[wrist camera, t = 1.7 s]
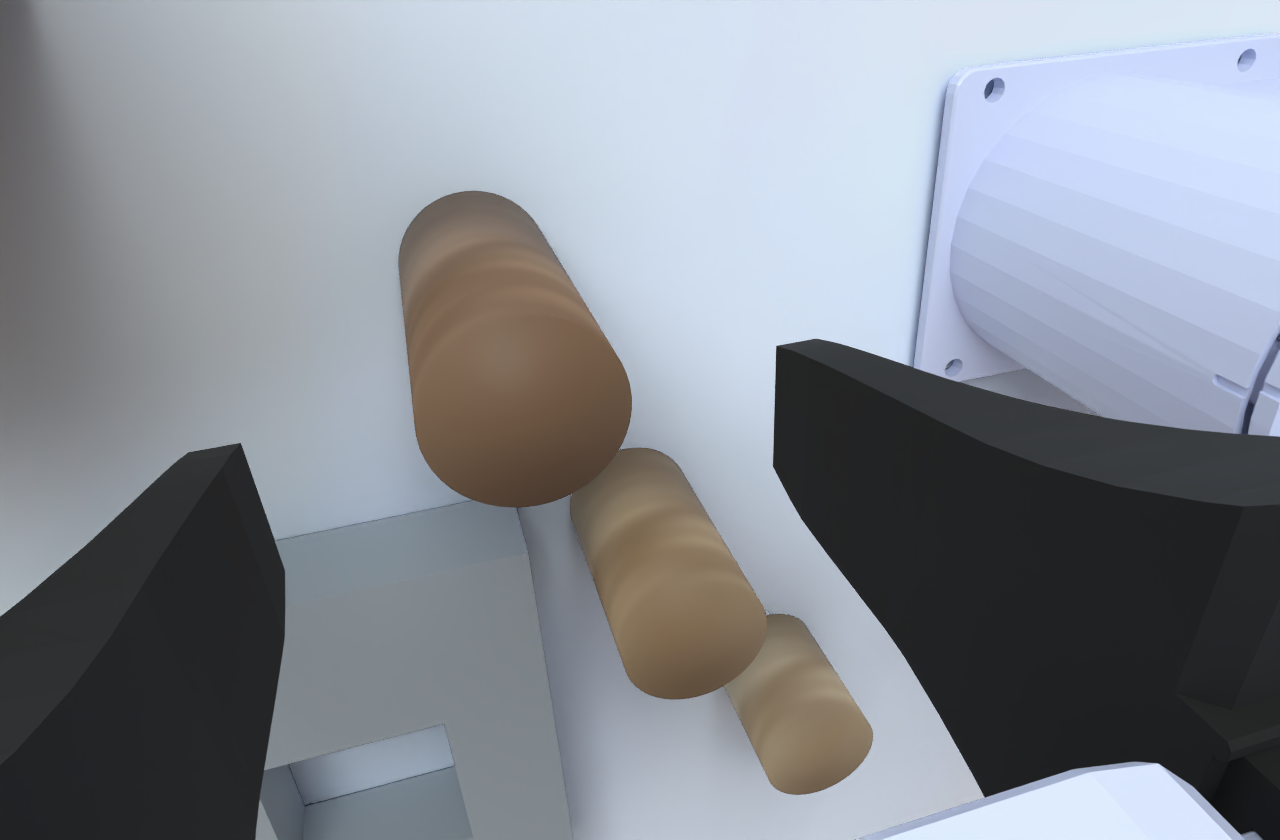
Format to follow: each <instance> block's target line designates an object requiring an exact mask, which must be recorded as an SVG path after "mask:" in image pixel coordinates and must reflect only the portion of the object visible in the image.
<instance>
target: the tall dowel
mask: <svg viewBox="0 0 1280 840" xmlns="http://www.w3.org/2000/svg"><path fill="white" fill-rule="evenodd" d="M399 275H400V285H401V295H402V305H403V315H404V325H405V334H406V344H407V354H408V364H409V374H410V384H411V394H412V404H413V413H414V423H415V431H416V437H417V441H418V444H419V447H420V450H421V452H422V454H423V456H424V458H425V460H426V462H427V463H428V465H429V466H430V468H431V469H432V471H433V472H434V473H435V474H436V475H437V476H438V477H439V478H440V480H441V481H443V482H444V483H445V484H446V485H448V486H449V487H450V488H451V489H453V490H455V491H456V492H458V493H459V494H461V495H463V496H465V497H467V498H470V499H472V500H474V501H477V502H481V503H484V504H487V505H493V506H498V507H511V508H515V507H530V506H536V505H541V504H545V503H549V502H553V501H555V500H558V499H561V498H563V497H566V496H568V495H570V494H572V493H573V492H575V491H577V490H579V489H580V488H582V487H583V486H585V485H587V484H588V483H589V482H591V481H592V480H593V479H594V478H595V477H597V476H598V475H599V474H600V473H601V472H602V471H603V470H604V469H605V468H606V467H607V466H608V464H609V463H610V462H611V460H612V459H613V458H614V456H615V455H616V453H617V452H618V450H619V448H620V447H621V445H622V443H623V440H624V438H625V436H626V433H627V430H628V426H629V423H630V417H631V410H632V396H631V389H630V384H629V381H628V377H627V374H626V372H625V369H624V367H623V365H622V363H621V361H620V360H619V358H618V356H617V355H616V353H615V351H614V350H613V348H612V347H611V345H610V343H609V342H608V340H607V338H606V337H605V335H604V334H603V332H602V330H601V329H600V327H599V325H598V324H597V322H596V320H595V319H594V317H593V316H592V314H591V312H590V311H589V309H588V307H587V306H586V304H585V302H584V301H583V299H582V298H581V296H580V294H579V293H578V291H577V289H576V288H575V286H574V284H573V283H572V281H571V280H570V278H569V276H568V275H567V273H566V271H565V270H564V268H563V266H562V265H561V263H560V262H559V260H558V258H557V257H556V255H555V253H554V252H553V250H552V248H551V247H550V245H549V244H548V242H547V240H546V239H545V237H544V235H543V234H542V232H541V231H540V229H539V227H538V226H537V224H536V223H535V221H534V220H533V219H532V218H531V217H530V215H529V214H528V213H527V212H526V211H525V210H523V209H522V208H521V207H520V206H518V205H517V204H515V203H514V202H512V201H510V200H508V199H506V198H504V197H502V196H499V195H496V194H493V193H488V192H482V191H464V192H459V193H453V194H450V195H447V196H444V197H442V198H440V199H438V200H436V201H434V202H433V203H431V204H430V205H428V206H427V207H425V208H424V209H423V210H422V211H421V212H420V213H419V214H418V215H417V216H416V217H415V218H414V220H413V221H412V222H411V224H410V225H409V227H408V228H407V230H406V232H405V235H404V237H403V239H402V243H401V246H400V252H399Z"/></svg>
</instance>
